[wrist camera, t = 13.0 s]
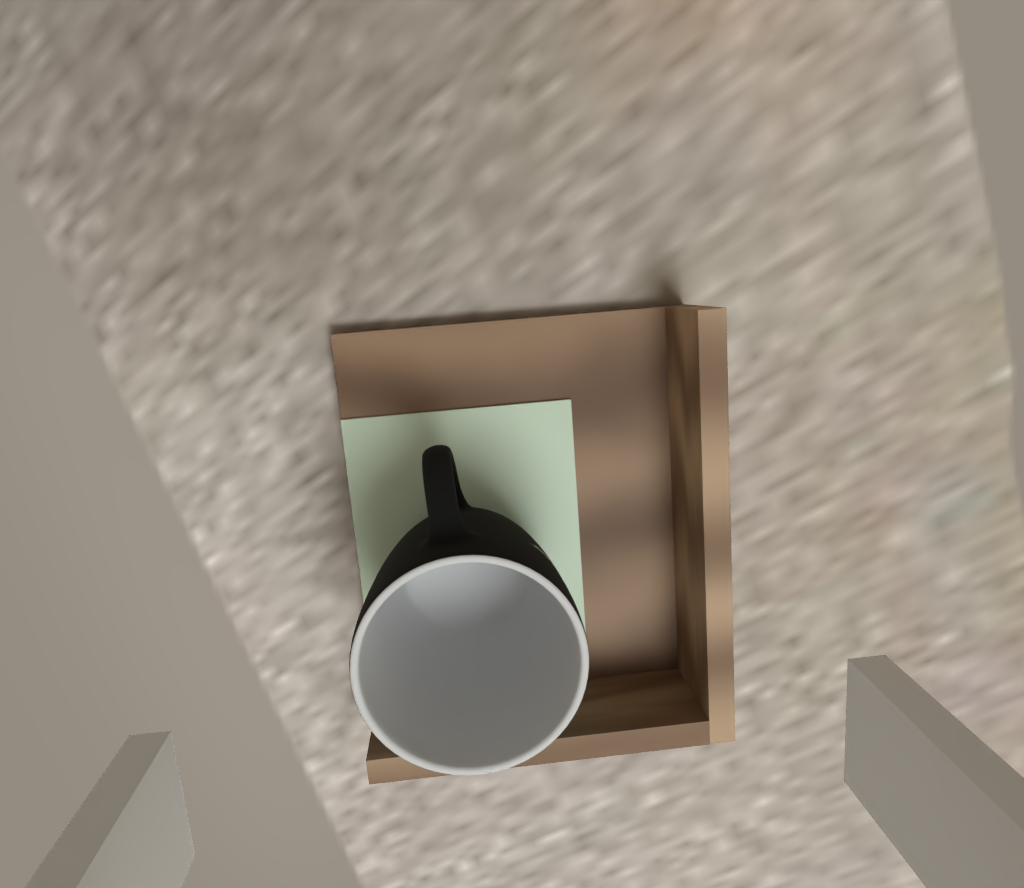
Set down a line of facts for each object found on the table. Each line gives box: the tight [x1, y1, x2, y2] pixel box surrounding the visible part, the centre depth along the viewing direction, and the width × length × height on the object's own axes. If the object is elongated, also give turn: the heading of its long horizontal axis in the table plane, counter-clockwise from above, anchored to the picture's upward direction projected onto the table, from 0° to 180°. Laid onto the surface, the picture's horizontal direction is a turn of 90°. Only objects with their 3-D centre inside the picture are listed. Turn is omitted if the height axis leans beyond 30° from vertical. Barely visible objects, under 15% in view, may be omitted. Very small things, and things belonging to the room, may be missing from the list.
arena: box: [330, 304, 735, 784], centre depth 36 cm, size 20×17×6 cm
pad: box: [340, 399, 586, 632], centre depth 38 cm, size 13×11×1 cm
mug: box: [349, 445, 589, 775], centre depth 33 cm, size 12×9×10 cm
